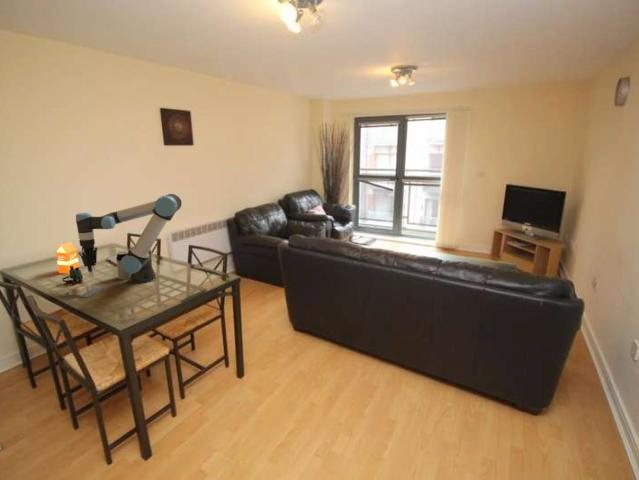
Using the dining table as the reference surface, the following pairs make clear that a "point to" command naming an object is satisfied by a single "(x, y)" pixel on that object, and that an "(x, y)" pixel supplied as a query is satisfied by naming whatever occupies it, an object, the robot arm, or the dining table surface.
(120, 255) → the travel mug
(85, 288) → the wooden block
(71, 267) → the binoculars
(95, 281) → the dining table surface
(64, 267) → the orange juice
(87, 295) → the mat
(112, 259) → the tablet
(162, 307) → the dining table surface
